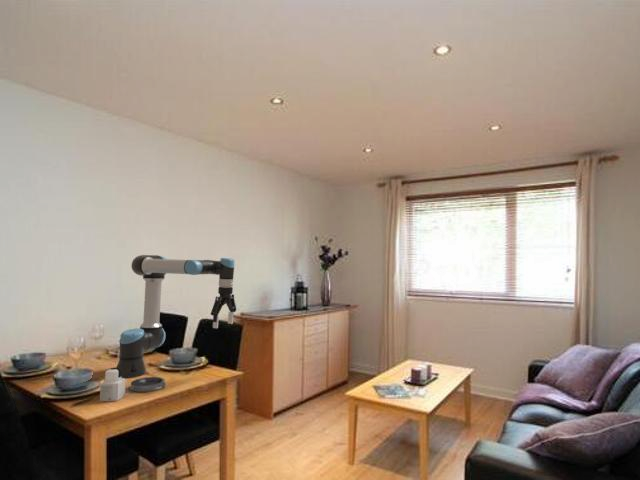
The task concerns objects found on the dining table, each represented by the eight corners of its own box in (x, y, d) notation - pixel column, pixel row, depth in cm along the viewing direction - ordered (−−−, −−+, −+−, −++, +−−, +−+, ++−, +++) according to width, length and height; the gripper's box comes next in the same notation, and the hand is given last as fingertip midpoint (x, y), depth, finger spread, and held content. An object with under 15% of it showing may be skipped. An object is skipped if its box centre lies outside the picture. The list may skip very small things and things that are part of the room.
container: (107, 395, 178) (108, 366, 179) (125, 395, 178) (126, 366, 179) (99, 401, 170) (100, 371, 171) (117, 401, 171) (119, 371, 172)
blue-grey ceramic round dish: (122, 390, 184) (122, 385, 184) (143, 380, 200) (143, 375, 200) (152, 393, 181) (153, 387, 182) (171, 383, 197) (172, 377, 197)
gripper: (217, 289, 198) (214, 331, 198) (244, 285, 221) (241, 322, 221) (205, 287, 201) (202, 328, 201) (232, 284, 224) (230, 321, 224)
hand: (223, 325), depth 211 cm, fingers open, 13 cm apart
